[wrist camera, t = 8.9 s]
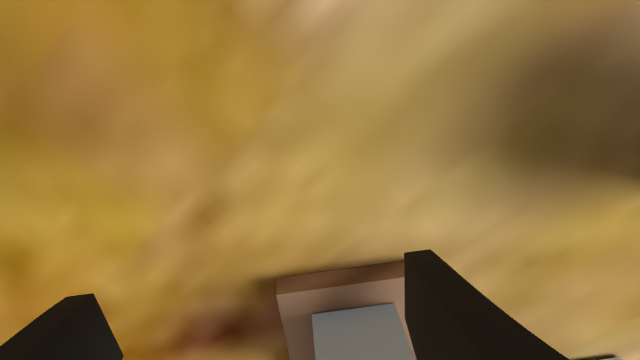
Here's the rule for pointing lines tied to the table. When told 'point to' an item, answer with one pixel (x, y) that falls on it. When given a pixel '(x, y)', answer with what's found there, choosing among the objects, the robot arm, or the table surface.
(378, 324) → the block
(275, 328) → the table surface
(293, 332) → the slab
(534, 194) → the table surface
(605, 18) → the table surface
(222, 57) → the table surface
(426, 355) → the robot arm
